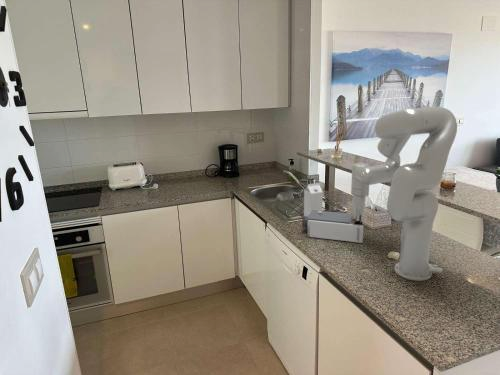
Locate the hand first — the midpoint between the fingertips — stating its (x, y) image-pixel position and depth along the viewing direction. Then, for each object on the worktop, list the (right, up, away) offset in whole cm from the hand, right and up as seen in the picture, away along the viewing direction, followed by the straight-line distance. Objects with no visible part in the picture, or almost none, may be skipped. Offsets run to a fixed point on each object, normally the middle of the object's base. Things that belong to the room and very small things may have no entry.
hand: (357, 229), depth 156 cm
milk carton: (-15, +3, +29) cm, 33 cm away
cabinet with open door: (-13, -3, +8) cm, 15 cm away
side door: (-11, -5, 0) cm, 12 cm away
